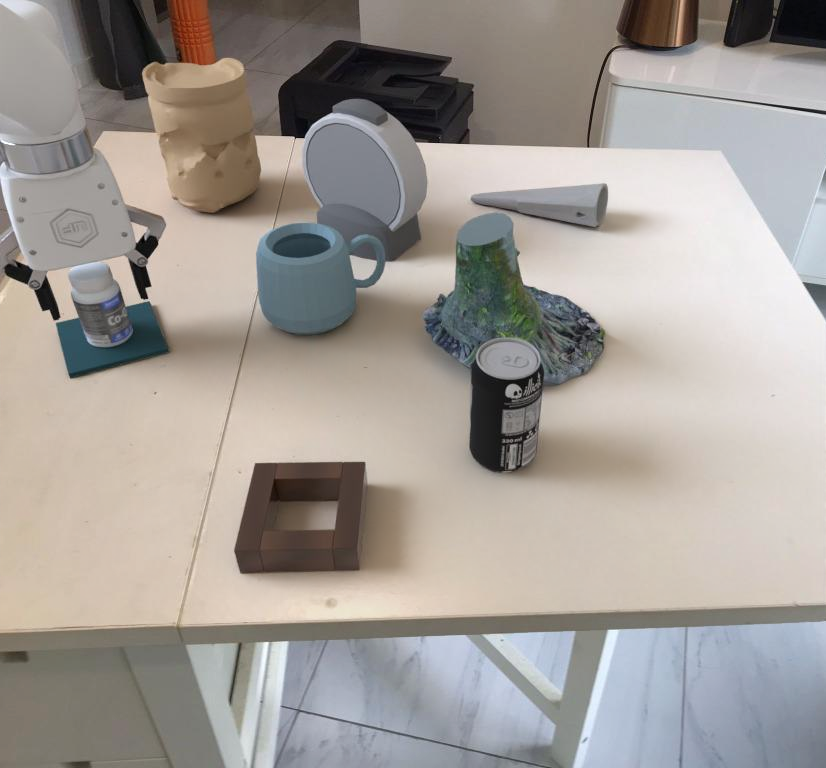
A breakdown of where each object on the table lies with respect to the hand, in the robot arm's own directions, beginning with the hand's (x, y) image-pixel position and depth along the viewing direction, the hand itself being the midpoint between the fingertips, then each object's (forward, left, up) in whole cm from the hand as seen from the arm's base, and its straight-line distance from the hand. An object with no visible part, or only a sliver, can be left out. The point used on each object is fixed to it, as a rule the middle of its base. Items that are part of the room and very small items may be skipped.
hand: (99, 302), depth 86 cm
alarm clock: (+34, +9, -5) cm, 36 cm away
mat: (0, 0, -5) cm, 5 cm away
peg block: (+10, -35, -5) cm, 37 cm away
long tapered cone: (+59, +6, -5) cm, 60 cm away
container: (+19, +28, -5) cm, 34 cm away
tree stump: (+40, -20, -5) cm, 45 cm away
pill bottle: (0, 0, -5) cm, 5 cm away
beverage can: (+30, -35, -5) cm, 46 cm away
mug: (+23, -5, -5) cm, 24 cm away
